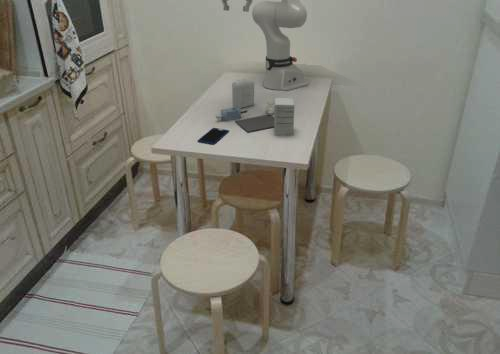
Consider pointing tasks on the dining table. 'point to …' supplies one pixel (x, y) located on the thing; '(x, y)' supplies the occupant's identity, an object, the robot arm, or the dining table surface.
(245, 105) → the photo printer
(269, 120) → the rubber mat
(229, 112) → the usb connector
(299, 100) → the dining table surface
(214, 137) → the cell phone
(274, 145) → the dining table surface
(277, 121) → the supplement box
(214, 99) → the dining table surface
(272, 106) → the white connector
